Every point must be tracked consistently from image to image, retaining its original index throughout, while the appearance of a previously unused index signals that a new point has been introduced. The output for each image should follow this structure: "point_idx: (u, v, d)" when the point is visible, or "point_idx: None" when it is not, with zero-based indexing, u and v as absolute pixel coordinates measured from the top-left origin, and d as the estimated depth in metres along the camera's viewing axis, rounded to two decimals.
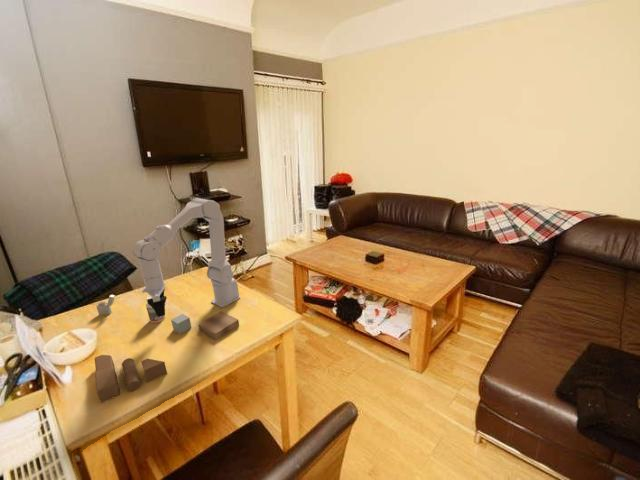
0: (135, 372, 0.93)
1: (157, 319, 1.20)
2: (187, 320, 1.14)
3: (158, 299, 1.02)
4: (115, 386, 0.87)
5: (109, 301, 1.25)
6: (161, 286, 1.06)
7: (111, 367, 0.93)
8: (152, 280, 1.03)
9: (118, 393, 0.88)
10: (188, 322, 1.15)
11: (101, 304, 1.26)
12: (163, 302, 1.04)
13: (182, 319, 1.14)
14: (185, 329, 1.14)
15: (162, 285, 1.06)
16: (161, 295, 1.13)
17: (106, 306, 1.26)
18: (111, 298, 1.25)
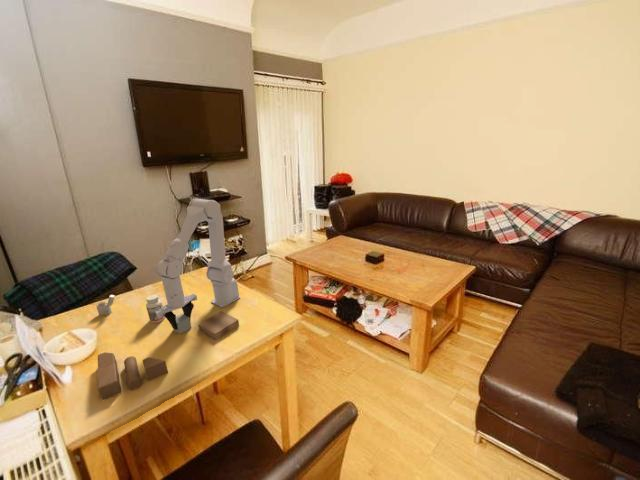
0: (136, 370, 0.93)
1: (157, 319, 1.20)
2: (187, 320, 1.14)
3: (158, 316, 1.07)
4: (116, 384, 0.88)
5: (109, 301, 1.25)
6: (173, 306, 1.09)
7: (113, 365, 0.93)
8: (166, 297, 1.09)
9: (119, 391, 0.88)
10: (188, 322, 1.15)
11: (101, 304, 1.26)
12: (169, 319, 1.09)
13: (182, 319, 1.14)
14: (185, 329, 1.14)
15: (175, 305, 1.10)
16: (187, 313, 1.15)
17: (106, 306, 1.26)
18: (111, 298, 1.25)
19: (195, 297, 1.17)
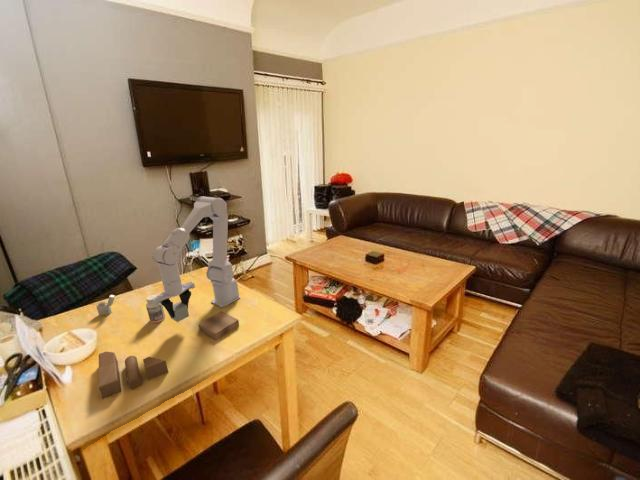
0: (137, 370, 0.93)
1: (157, 319, 1.20)
2: (184, 308, 1.13)
3: (155, 303, 1.05)
4: (117, 383, 0.88)
5: (109, 301, 1.25)
6: (171, 293, 1.08)
7: (114, 364, 0.94)
8: (163, 284, 1.07)
9: (119, 390, 0.89)
10: (185, 310, 1.13)
11: (101, 304, 1.26)
12: (166, 306, 1.08)
13: (180, 307, 1.12)
14: (182, 317, 1.13)
15: (172, 292, 1.08)
16: (184, 301, 1.14)
17: (106, 306, 1.26)
18: (111, 298, 1.25)
19: (193, 285, 1.15)
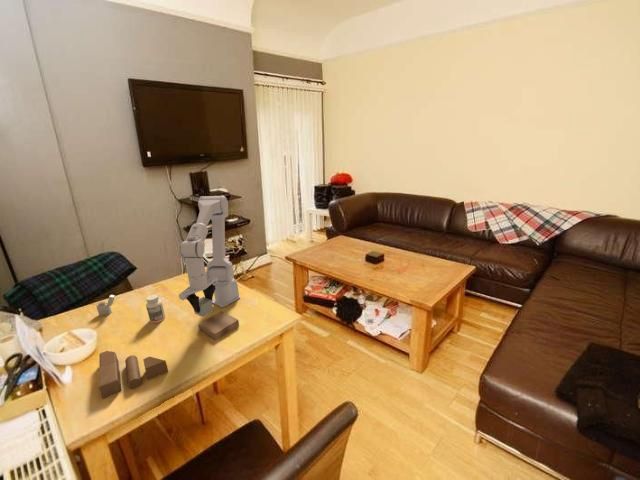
0: (137, 370, 0.94)
1: (157, 319, 1.20)
2: (209, 302, 1.12)
3: (182, 298, 1.04)
4: (117, 383, 0.88)
5: (109, 301, 1.25)
6: (197, 287, 1.07)
7: (114, 364, 0.94)
8: (189, 279, 1.06)
9: (119, 390, 0.89)
10: (210, 305, 1.12)
11: (101, 304, 1.26)
12: (193, 301, 1.07)
13: (205, 301, 1.11)
14: (207, 312, 1.12)
15: (198, 287, 1.07)
16: (209, 296, 1.13)
17: (106, 306, 1.26)
18: (111, 298, 1.25)
19: (216, 279, 1.15)
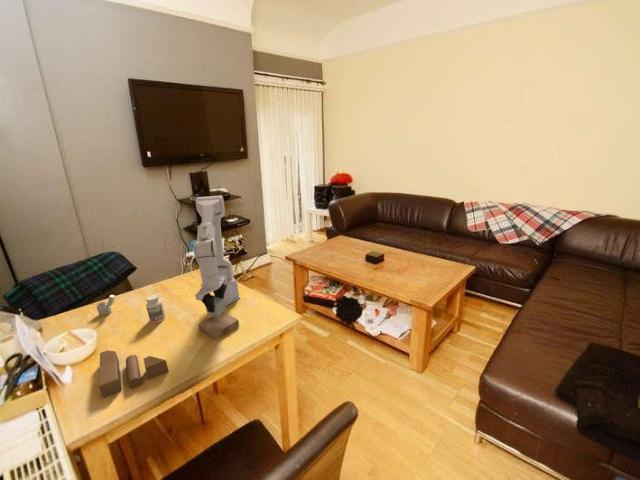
0: (137, 369, 0.94)
1: (157, 319, 1.20)
2: (222, 301, 1.12)
3: (199, 299, 1.03)
4: (117, 382, 0.88)
5: (109, 301, 1.25)
6: (212, 287, 1.07)
7: (114, 363, 0.94)
8: (204, 279, 1.06)
9: (119, 389, 0.89)
10: (223, 303, 1.13)
11: (101, 304, 1.26)
12: (209, 301, 1.06)
13: (218, 300, 1.12)
14: (221, 311, 1.12)
15: (213, 286, 1.07)
16: (220, 295, 1.13)
17: (106, 306, 1.26)
18: (111, 298, 1.25)
19: (226, 278, 1.15)
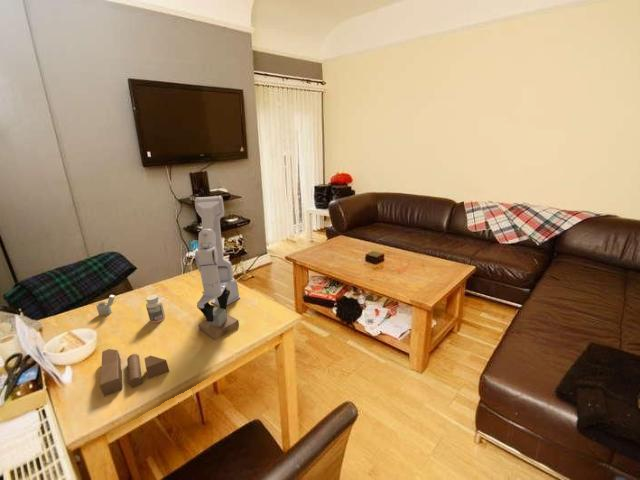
0: (138, 368, 0.94)
1: (157, 319, 1.20)
2: (224, 312, 1.14)
3: (201, 307, 1.04)
4: (118, 381, 0.89)
5: (109, 301, 1.25)
6: (213, 294, 1.08)
7: (116, 362, 0.95)
8: (206, 287, 1.07)
9: (120, 388, 0.89)
10: (225, 314, 1.14)
11: (101, 304, 1.26)
12: (208, 310, 1.06)
13: (220, 311, 1.13)
14: (223, 321, 1.14)
15: (215, 294, 1.08)
16: (223, 301, 1.15)
17: (106, 306, 1.26)
18: (111, 298, 1.25)
19: (227, 285, 1.16)
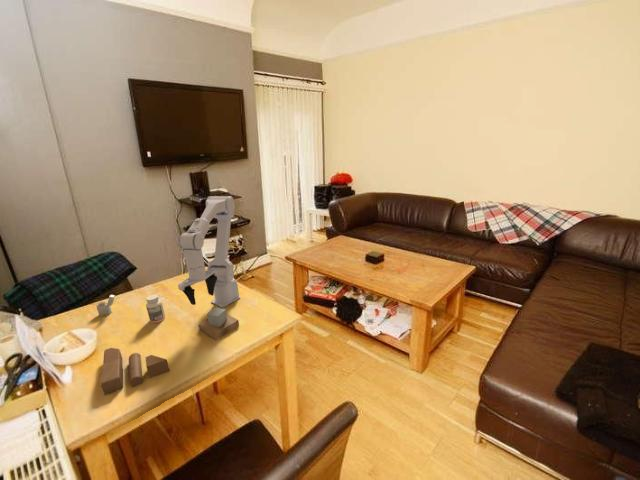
0: (139, 367, 0.94)
1: (157, 319, 1.20)
2: (224, 312, 1.14)
3: (181, 289, 1.08)
4: (118, 380, 0.89)
5: (109, 301, 1.25)
6: (195, 279, 1.10)
7: (117, 361, 0.95)
8: (188, 270, 1.10)
9: (121, 387, 0.90)
10: (225, 314, 1.14)
11: (101, 304, 1.26)
12: (188, 293, 1.09)
13: (220, 311, 1.13)
14: (223, 321, 1.14)
15: (197, 278, 1.10)
16: (210, 286, 1.17)
17: (106, 306, 1.26)
18: (111, 298, 1.25)
19: (215, 271, 1.18)
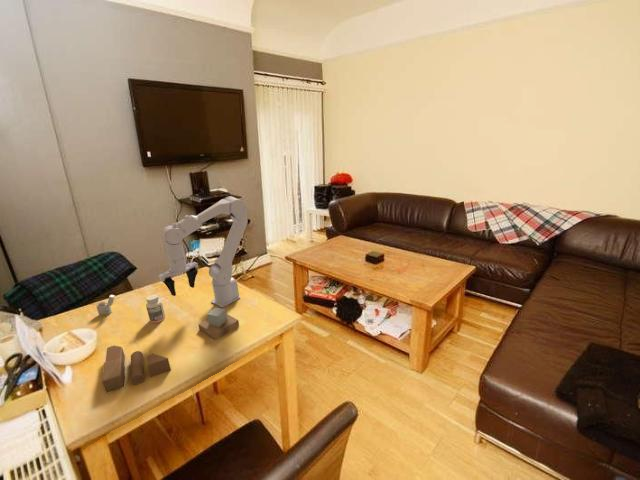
0: (140, 366, 0.95)
1: (157, 319, 1.20)
2: (224, 312, 1.14)
3: (161, 280, 1.13)
4: (120, 378, 0.89)
5: (109, 301, 1.25)
6: (176, 270, 1.15)
7: (119, 359, 0.96)
8: (169, 262, 1.15)
9: (122, 385, 0.90)
10: (224, 314, 1.14)
11: (101, 304, 1.26)
12: (168, 284, 1.14)
13: (219, 311, 1.13)
14: (222, 321, 1.14)
15: (177, 270, 1.16)
16: (191, 279, 1.22)
17: (106, 306, 1.26)
18: (111, 298, 1.25)
19: (196, 265, 1.23)
